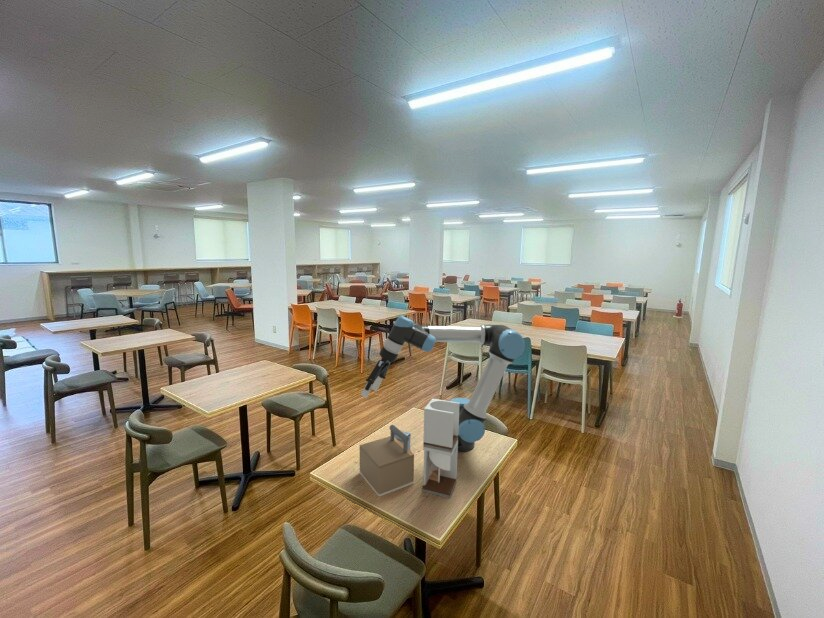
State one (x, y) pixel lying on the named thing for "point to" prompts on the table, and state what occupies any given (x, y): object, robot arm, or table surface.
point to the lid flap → (388, 449)
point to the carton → (387, 474)
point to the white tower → (440, 447)
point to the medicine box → (402, 440)
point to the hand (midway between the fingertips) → (368, 393)
